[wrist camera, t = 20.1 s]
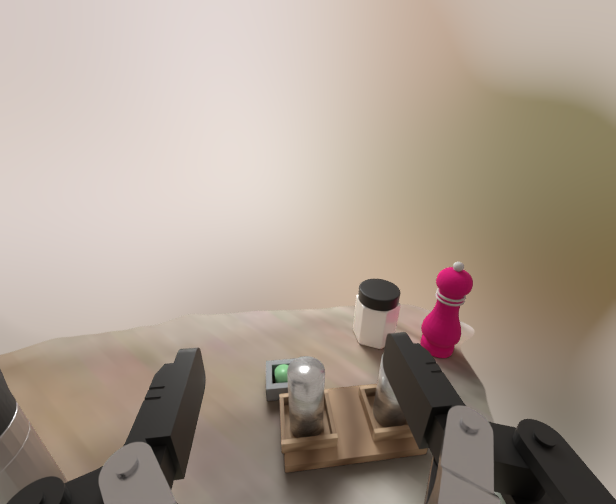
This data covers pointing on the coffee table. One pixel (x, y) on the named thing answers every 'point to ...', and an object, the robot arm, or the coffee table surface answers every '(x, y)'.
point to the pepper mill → (446, 311)
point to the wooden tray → (345, 433)
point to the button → (281, 373)
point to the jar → (376, 312)
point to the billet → (306, 396)
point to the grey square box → (275, 388)
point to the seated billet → (386, 403)
